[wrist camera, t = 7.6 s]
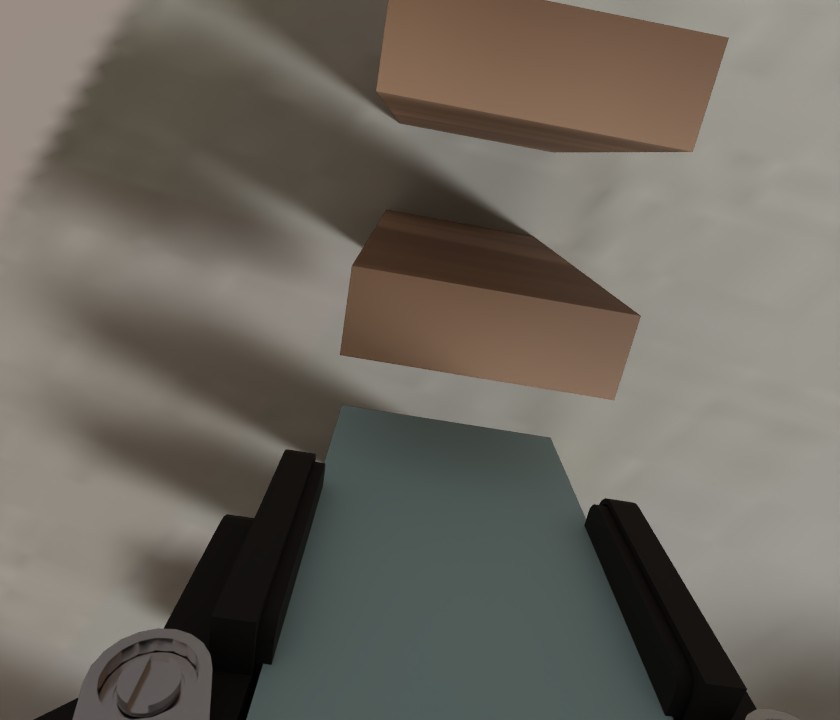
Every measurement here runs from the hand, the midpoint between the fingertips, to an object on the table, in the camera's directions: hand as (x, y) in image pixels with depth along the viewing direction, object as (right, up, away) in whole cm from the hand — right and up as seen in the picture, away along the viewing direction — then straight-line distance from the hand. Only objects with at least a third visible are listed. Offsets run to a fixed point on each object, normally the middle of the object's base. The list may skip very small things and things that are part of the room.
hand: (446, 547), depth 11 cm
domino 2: (+1, +7, +9) cm, 11 cm away
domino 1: (+1, +11, +7) cm, 14 cm away
